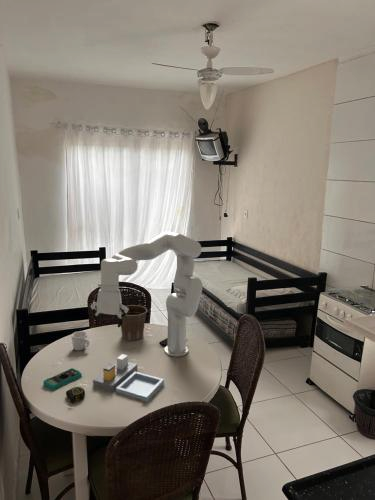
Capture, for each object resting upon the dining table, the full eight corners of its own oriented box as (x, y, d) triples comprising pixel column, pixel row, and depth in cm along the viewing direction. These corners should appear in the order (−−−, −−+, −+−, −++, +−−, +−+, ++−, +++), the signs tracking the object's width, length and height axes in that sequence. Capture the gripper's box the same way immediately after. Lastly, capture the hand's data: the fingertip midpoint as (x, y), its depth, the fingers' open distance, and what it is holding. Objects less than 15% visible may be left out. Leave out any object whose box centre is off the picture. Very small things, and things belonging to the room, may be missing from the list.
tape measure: (65, 397, 153) (65, 389, 152) (82, 392, 156) (81, 384, 156) (70, 405, 147) (70, 397, 146) (87, 400, 151) (87, 392, 150)
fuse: (122, 369, 174) (122, 353, 172) (127, 370, 173) (127, 355, 171) (117, 374, 170) (116, 358, 168) (122, 375, 169) (122, 359, 167)
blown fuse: (109, 379, 165) (109, 363, 163) (115, 381, 164) (115, 365, 162) (103, 385, 161) (103, 368, 159) (109, 386, 160) (109, 369, 158)
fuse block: (119, 366, 178) (119, 359, 177) (137, 370, 174) (137, 364, 173) (93, 387, 160) (93, 379, 159) (112, 393, 156) (112, 385, 155)
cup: (94, 348, 195) (94, 334, 193) (82, 354, 188) (82, 340, 186) (80, 343, 200) (79, 329, 199) (68, 349, 194) (68, 335, 192)
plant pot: (147, 330, 219) (147, 304, 215) (146, 342, 203) (146, 315, 200) (120, 330, 218) (119, 304, 214) (116, 343, 202) (116, 315, 199)
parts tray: (135, 376, 169) (134, 371, 169) (163, 384, 163) (163, 379, 163) (116, 393, 156) (115, 388, 155) (146, 402, 150) (146, 397, 149)
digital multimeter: (83, 378, 168) (83, 372, 167) (52, 392, 156) (52, 386, 155) (73, 372, 172) (73, 366, 172) (42, 386, 161) (42, 380, 160)
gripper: (87, 287, 156) (87, 325, 159) (125, 291, 153) (125, 330, 156) (94, 283, 163) (94, 319, 166) (131, 287, 160) (131, 324, 163)
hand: (109, 324), depth 161 cm, fingers open, 9 cm apart
